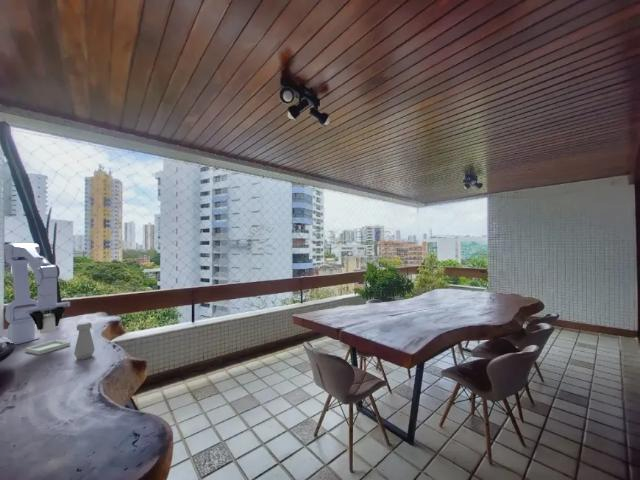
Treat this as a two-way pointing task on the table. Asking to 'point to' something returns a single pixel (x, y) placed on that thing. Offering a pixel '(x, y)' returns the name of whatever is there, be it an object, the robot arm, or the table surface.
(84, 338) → the salt shaker
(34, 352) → the tray
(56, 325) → the robot arm
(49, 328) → the white shaker
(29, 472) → the table surface
